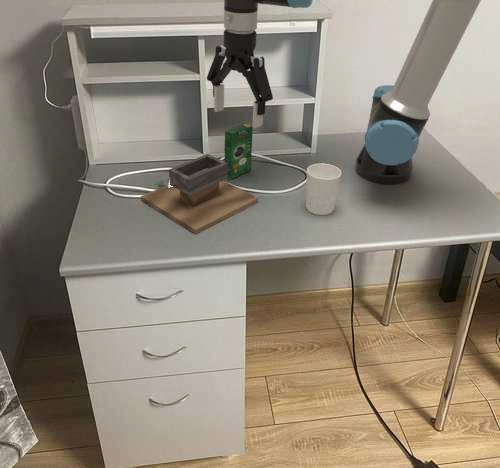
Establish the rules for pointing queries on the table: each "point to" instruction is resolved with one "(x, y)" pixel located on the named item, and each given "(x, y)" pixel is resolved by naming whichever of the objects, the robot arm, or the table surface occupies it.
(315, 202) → the white cup
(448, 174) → the table surface
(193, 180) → the display stand
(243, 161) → the coffee box
